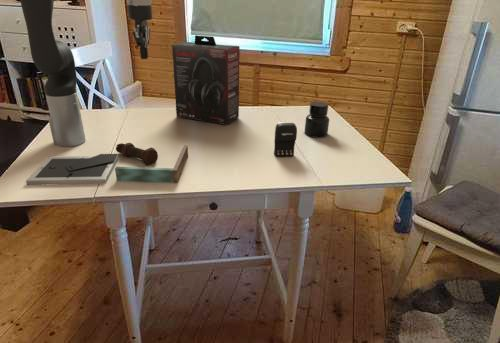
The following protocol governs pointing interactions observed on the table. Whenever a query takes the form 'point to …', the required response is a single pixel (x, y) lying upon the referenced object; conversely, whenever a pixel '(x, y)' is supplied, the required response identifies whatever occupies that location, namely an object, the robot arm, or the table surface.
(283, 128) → the battery charger
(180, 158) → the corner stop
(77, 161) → the picture frame
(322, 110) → the ink bottle
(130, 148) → the bolt
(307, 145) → the table surface
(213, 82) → the headset box
